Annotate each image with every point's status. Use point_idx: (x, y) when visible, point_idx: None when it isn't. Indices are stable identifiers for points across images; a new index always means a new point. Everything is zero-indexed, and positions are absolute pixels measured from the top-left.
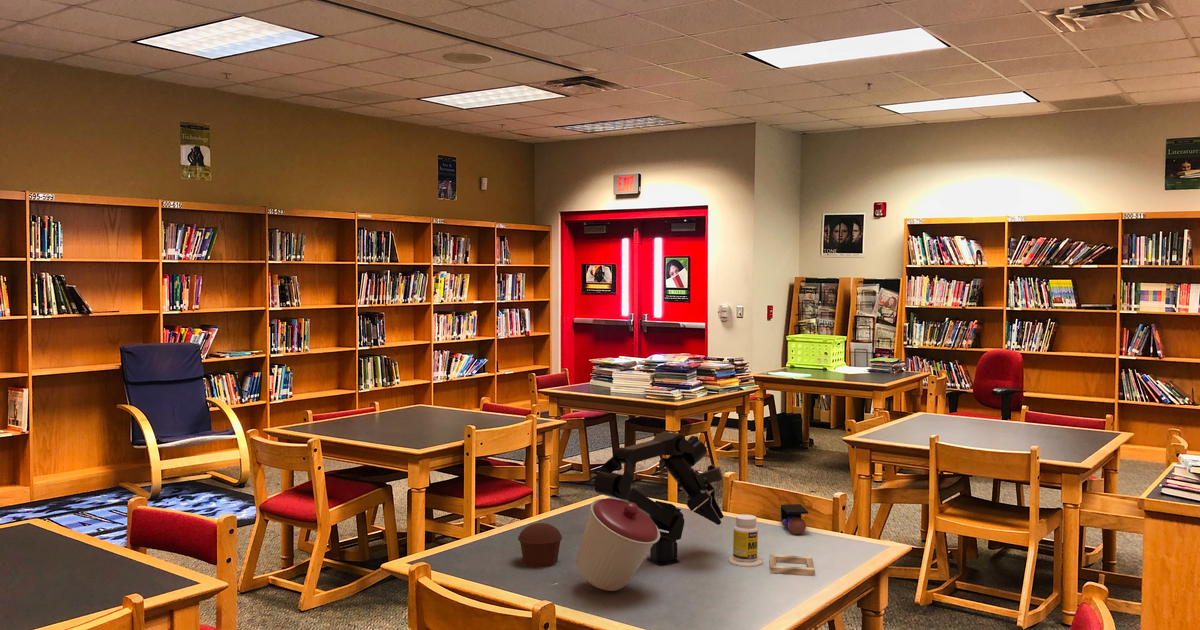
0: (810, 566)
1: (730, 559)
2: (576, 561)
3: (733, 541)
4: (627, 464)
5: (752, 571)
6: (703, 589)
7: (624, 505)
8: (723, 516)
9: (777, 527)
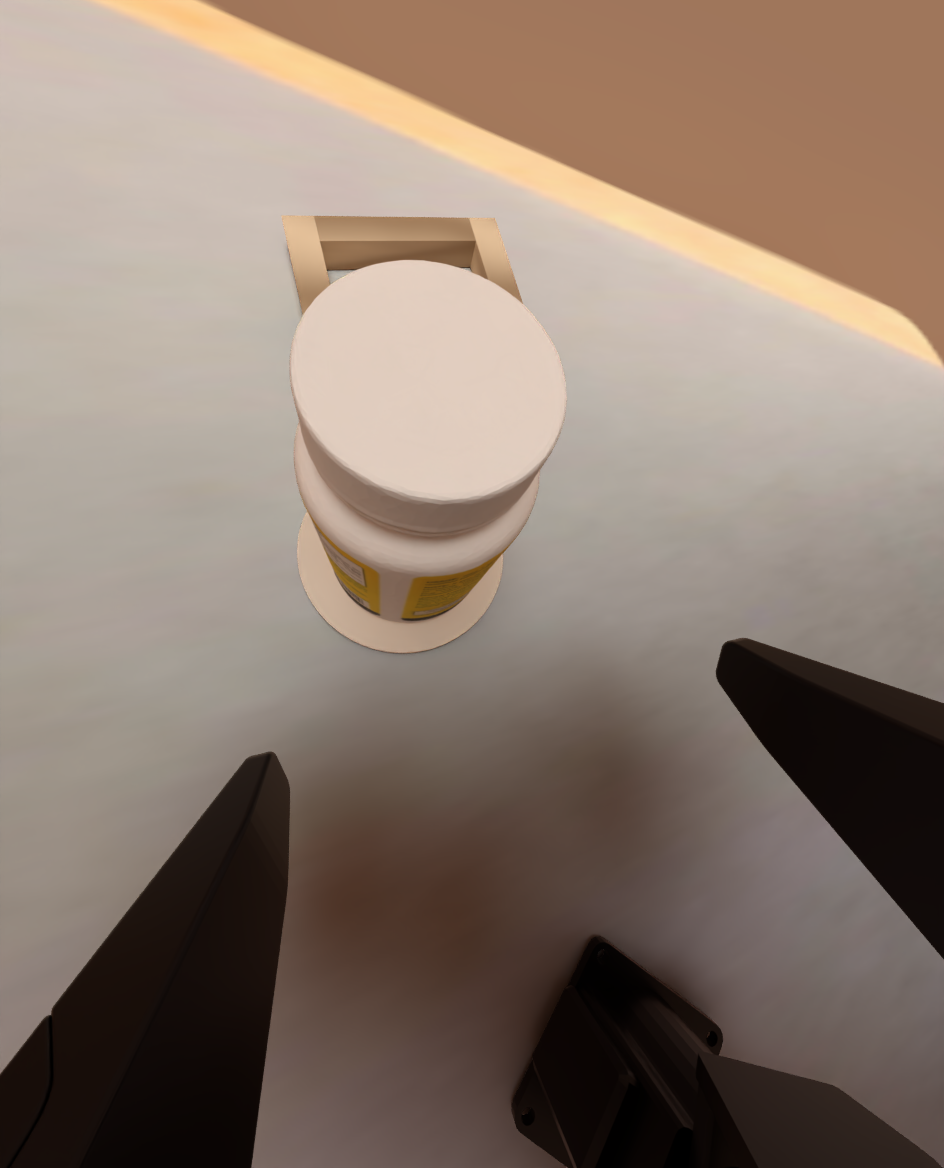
0: (454, 231)
1: (451, 631)
2: None
3: (447, 597)
4: None
5: (552, 492)
6: (866, 641)
7: None
8: (273, 753)
9: None
